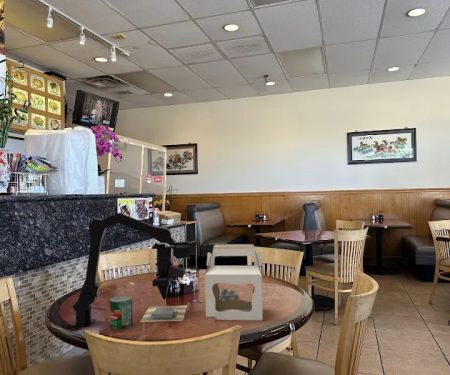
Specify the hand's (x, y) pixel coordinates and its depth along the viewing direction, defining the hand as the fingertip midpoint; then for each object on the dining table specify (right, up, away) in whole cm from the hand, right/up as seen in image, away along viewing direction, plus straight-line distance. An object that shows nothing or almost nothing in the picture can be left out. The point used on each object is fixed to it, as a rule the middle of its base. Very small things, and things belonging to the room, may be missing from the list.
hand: (164, 298), depth 139 cm
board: (0, -7, 0) cm, 7 cm away
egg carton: (+26, -8, +23) cm, 35 cm away
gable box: (+28, -7, +1) cm, 29 cm away
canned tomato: (-14, -7, -12) cm, 19 cm away
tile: (0, -5, +2) cm, 5 cm away
